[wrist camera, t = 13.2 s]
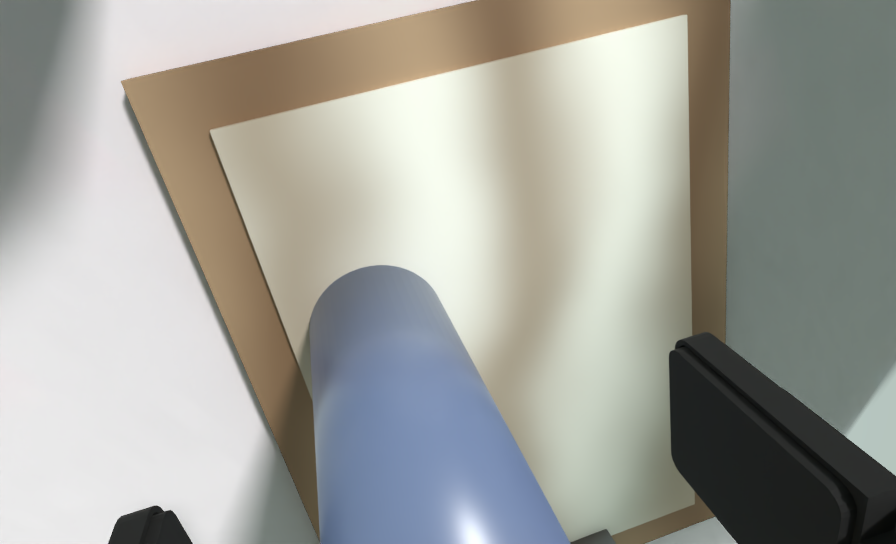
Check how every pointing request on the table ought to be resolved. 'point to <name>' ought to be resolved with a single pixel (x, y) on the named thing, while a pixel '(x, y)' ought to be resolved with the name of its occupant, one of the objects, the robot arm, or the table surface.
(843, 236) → the table surface
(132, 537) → the robot arm
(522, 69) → the clipboard
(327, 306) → the cylinder
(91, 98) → the table surface
